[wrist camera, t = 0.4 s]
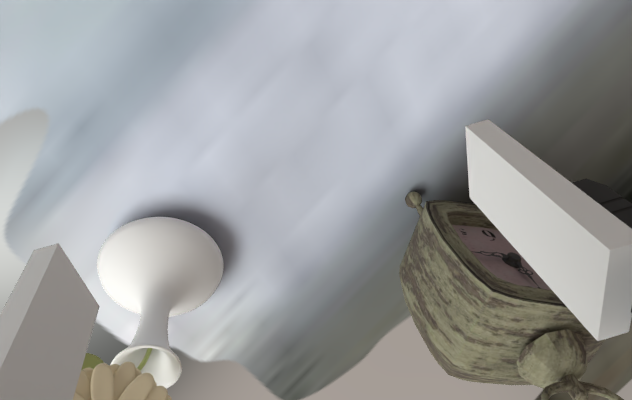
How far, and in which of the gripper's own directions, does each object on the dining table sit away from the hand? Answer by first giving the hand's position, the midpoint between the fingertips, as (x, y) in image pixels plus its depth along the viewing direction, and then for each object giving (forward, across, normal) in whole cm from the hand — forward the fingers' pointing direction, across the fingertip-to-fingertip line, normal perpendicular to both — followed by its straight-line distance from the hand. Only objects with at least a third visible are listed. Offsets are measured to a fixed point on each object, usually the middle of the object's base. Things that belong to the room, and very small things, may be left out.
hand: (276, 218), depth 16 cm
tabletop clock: (+27, +15, -24) cm, 39 cm away
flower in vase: (+27, -14, -17) cm, 35 cm away
